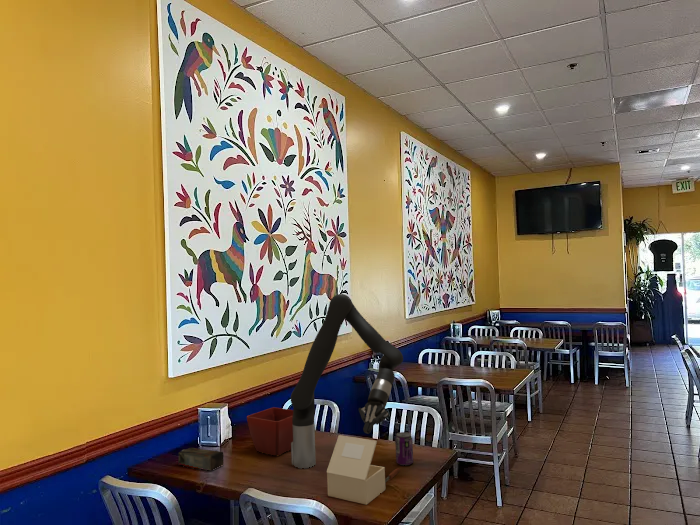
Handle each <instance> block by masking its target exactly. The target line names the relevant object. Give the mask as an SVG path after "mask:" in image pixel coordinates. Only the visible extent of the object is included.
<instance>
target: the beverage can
mask: <svg viewBox="0 0 700 525" xmlns="http://www.w3.org/2000/svg"><path fill="white" fill-rule="evenodd" d="M394 440H395V461H396V462H395V463H396V464H398V465H400V466H404V465H405V467H407V466H410V465H411V464H413V463H414V450H413V448H414V446H413V437H412V434H411V433H410V432H406V431H402V432H397V433H396V434H395V439H394Z"/></svg>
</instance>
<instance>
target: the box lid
mask: <svg viewBox="0 0 700 525" xmlns="http://www.w3.org/2000/svg"><path fill="white" fill-rule="evenodd" d="M336 439H337V440H336V443H335V445H334V448H333V452H332V455H331V458H330V460H329V463H328V467H327V469H326V474H327V473H330V474H335V475H340V476H345V477H350V478H355V479H360V480H365V481H366V478H367V475H368V471H369V468H370V465H372V464H371V463H372V461H373V457H374V455H375V454H374V453H375V450H376V446H377V443H378V441H377V440H373V439H368V438H361V437H360V438H359V437H355V436H349V435H348V436H347V435H341V434H338V436H337V438H336Z"/></svg>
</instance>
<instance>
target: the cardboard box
mask: <svg viewBox="0 0 700 525" xmlns="http://www.w3.org/2000/svg"><path fill="white" fill-rule="evenodd" d="M385 471H386V467H385V466H381V465H380V466H378V465H374V464H370V468H369V471H368V475H367V478H366V481H365V480H360V479H355V478H350V477H345V476H340V475H335V474H330V473H327V472H326V478H327V479H326V480H327V482H326V483H327V496H328V497H332V498H336V499H340V500H345V501H349V502H354V503H358V504H362V505H368V504H369V503H371V502H372V501H374V499H375V498H377V497H378V496H379V495H380V493H381V494H382V493H383V492H384V491H386V482H385V479H386V472H385Z"/></svg>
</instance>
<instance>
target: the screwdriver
mask: <svg viewBox="0 0 700 525" xmlns="http://www.w3.org/2000/svg"><path fill="white" fill-rule="evenodd" d="M400 470H401V469H400V468H399V467H396V468H395V469H393V470H392V471H391V472H390V473H389V474H387V477H385V483H387V482H388V481H390V480H393V479H394V477H396V476H397V475H398V474H399V473H400Z"/></svg>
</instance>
